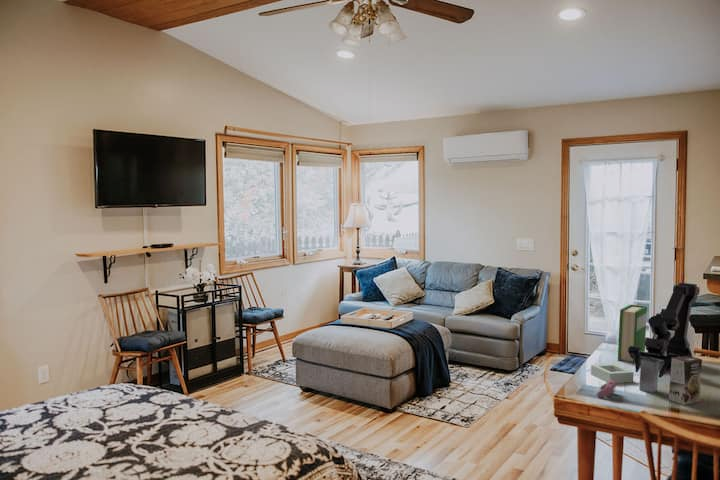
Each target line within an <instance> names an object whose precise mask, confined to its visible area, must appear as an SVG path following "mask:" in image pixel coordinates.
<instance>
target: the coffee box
mask: <svg viewBox="0 0 720 480" xmlns="http://www.w3.org/2000/svg"><path fill="white" fill-rule="evenodd" d="M702 365H703V359H702V358H700V357H699V358H698V357H690V356H680V357H674V358H672V362H671V373H670V376H669V377H670V378H669V395H668V400H669V401H672V402H674V403H678V404H680V405H683V406H688V405H691V404H695V403H699V402H700V401H701V400H700V396H701V382H702V381H701V380H702V367H703V366H702Z"/></svg>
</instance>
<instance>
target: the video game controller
mask: <svg viewBox="0 0 720 480" xmlns="http://www.w3.org/2000/svg"><path fill="white" fill-rule="evenodd" d="M617 384H618V383H616V381H613V380H610V381H608V382H606V383H604V384H602V385H601V386H600V388H599V389H600V390H599V391H598V392H597V393H596V396H597V397H598V398H606V397H607V398H609V397H610V395H612V394H614V393H615V392H616V390H615V388H616V386H617Z"/></svg>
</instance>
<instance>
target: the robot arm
mask: <svg viewBox="0 0 720 480" xmlns="http://www.w3.org/2000/svg"><path fill="white" fill-rule="evenodd" d="M700 292H701V291H700V286H699V287H698V285H697V284H695V283H688V282H679V283H678V284H674V286H673V288H672V294H671V296H670V298H669V300H668V303H667V305H666V308H665V309H664V310H662V311H660V312H659V313H656V314H655V315H653V316H652V315H651V317H650V318H648V324H649V328H650V330H651V332H652V334H653V336H652V338H651V337H645V343H644V346H645V352H644V351H641V349H640V347H636V346H630V347H629V348H628V353H629V355H630V357H631V358H632V359H634V360H635V364H634V365H635V373H638V372H639V371H640V369H641V360H642V359H643V358H647V359H652V360H657V361H663V365H662V366H661V369H660V371H659V372H658V378H659V379H660V378H662V377H663V376H665V375H666V374H667V373H668V372H669V373H670V374H671V362H672V358H674V357H680V356H690V357H692V353H691V350H690V344H689V342H688V340H687V331H688V325H689V321H690V316H691V312H692V306H693V304H694V303H695V302H696V301H697V300H698V296H699V295H700ZM668 330H670V331H675V334H674V336H673V337H672V338H671V333H670V332H669V331H668ZM665 351H666V353H667V356H664V354H665ZM642 356H644V357H643V358H642Z"/></svg>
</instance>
